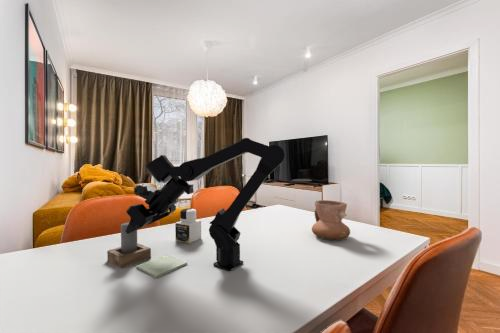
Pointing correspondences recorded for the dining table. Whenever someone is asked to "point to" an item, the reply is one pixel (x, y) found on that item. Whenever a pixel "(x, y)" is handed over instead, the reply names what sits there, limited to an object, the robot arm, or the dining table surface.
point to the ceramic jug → (330, 220)
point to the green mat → (161, 265)
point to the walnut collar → (128, 256)
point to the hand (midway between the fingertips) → (136, 228)
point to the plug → (128, 240)
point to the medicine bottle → (188, 226)
